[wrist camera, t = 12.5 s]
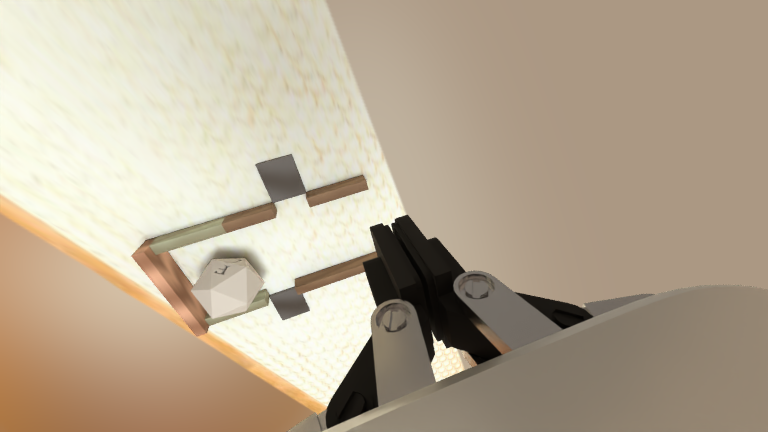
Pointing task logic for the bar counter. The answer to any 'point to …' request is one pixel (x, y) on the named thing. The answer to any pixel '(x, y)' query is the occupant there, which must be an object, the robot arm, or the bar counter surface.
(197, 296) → the die
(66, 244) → the bar counter surface
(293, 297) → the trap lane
